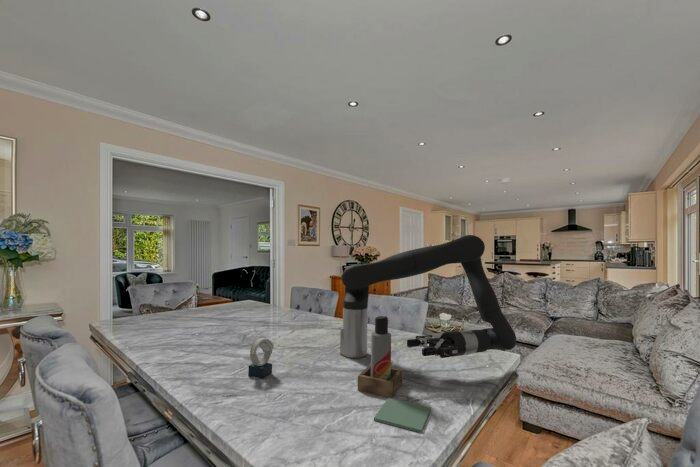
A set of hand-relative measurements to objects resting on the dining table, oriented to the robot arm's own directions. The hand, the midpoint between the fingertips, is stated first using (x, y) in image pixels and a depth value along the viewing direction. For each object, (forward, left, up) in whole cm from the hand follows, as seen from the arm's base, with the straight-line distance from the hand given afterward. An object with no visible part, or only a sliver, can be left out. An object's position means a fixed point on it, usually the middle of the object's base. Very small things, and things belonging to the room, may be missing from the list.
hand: (414, 347), depth 96 cm
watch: (-44, -17, -10) cm, 48 cm away
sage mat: (+2, -20, -10) cm, 22 cm away
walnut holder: (-8, -8, -10) cm, 15 cm away
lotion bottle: (-8, -8, -10) cm, 15 cm away
